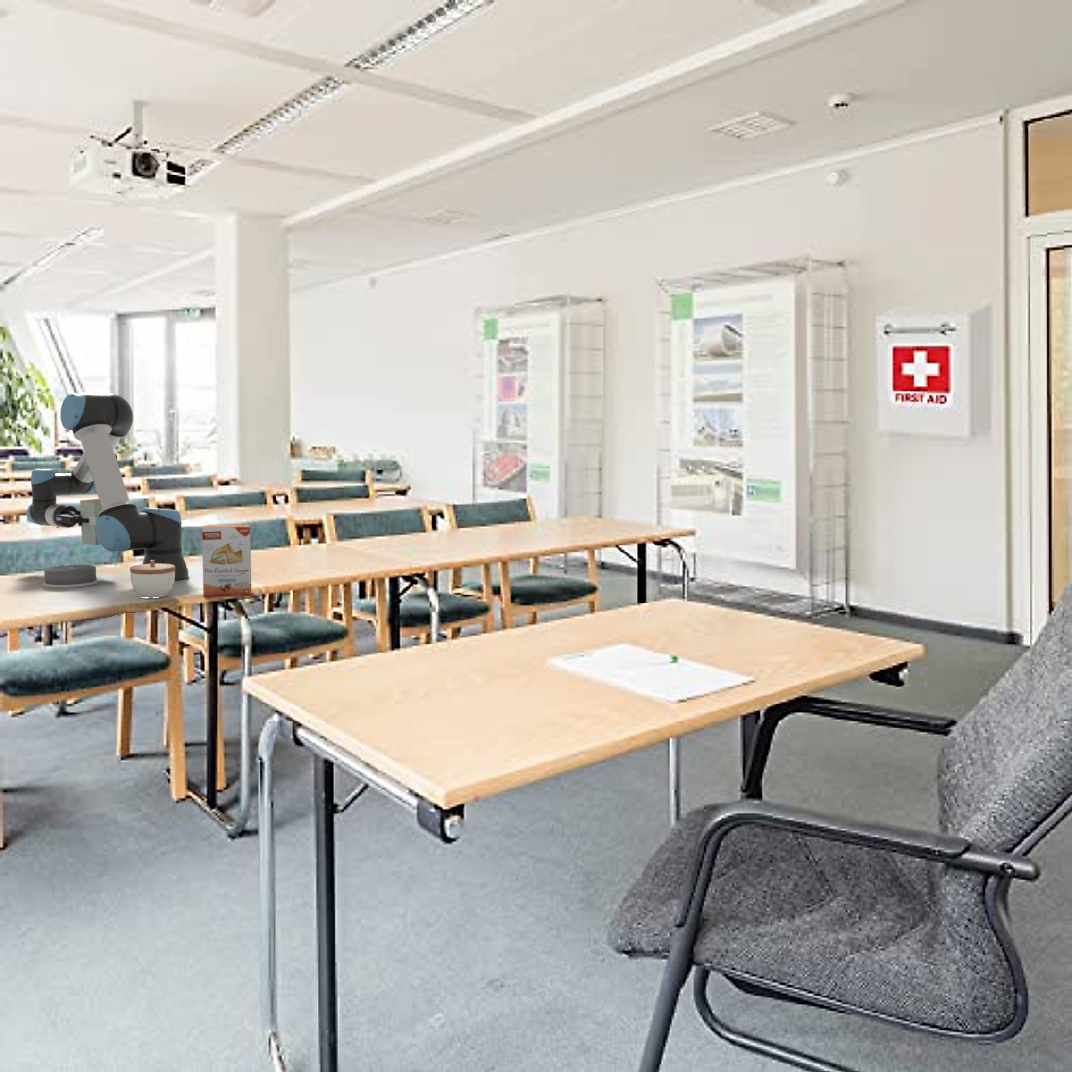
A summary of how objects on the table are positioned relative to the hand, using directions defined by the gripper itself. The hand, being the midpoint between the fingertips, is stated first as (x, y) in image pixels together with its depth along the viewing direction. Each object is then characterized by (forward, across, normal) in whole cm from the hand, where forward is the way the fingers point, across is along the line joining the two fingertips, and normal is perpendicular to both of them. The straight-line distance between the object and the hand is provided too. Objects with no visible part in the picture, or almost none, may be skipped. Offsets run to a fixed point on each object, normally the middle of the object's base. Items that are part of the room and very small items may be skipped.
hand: (106, 520), depth 344 cm
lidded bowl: (+42, +17, -19) cm, 49 cm away
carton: (-5, 0, -8) cm, 9 cm away
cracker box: (+57, +2, -19) cm, 60 cm away
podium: (+2, +16, -19) cm, 25 cm away
